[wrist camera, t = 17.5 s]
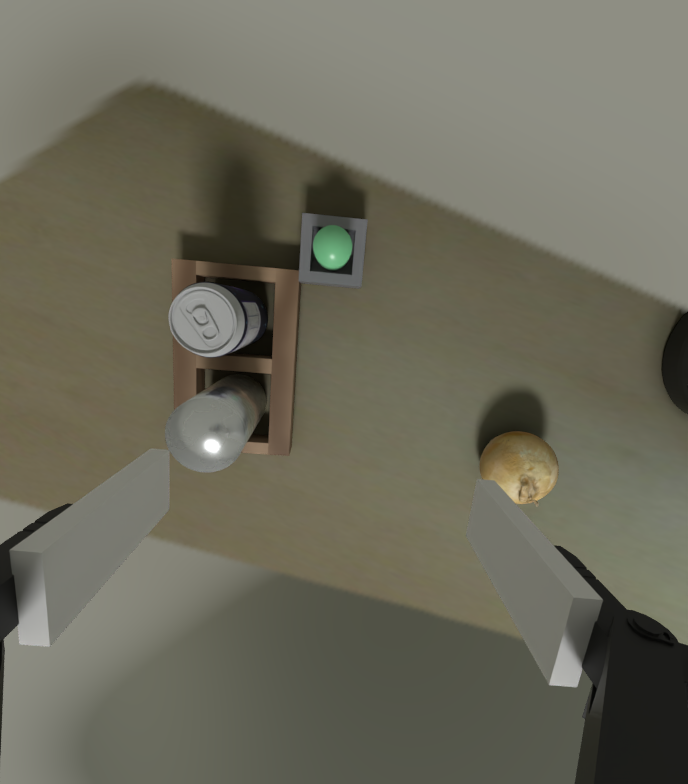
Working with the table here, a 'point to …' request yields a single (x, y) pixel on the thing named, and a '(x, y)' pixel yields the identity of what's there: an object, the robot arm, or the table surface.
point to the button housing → (308, 264)
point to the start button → (332, 247)
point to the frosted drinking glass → (216, 423)
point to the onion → (520, 466)
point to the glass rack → (278, 365)
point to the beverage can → (216, 318)
